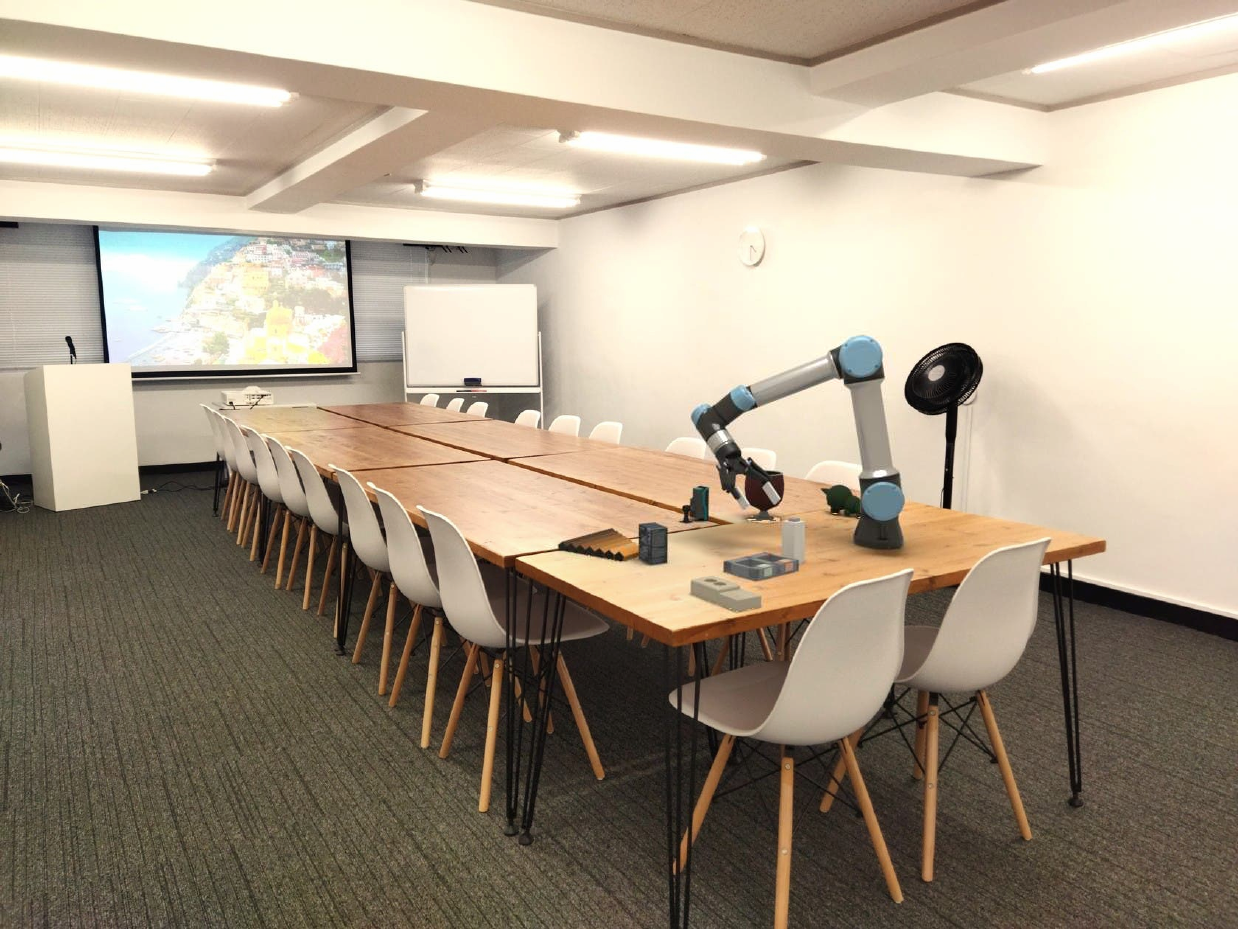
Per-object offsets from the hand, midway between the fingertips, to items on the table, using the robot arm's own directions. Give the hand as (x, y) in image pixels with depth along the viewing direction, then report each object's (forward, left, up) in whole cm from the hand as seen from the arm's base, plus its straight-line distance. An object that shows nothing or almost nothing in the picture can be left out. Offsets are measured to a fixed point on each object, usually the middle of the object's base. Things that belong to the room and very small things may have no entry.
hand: (762, 504), depth 249 cm
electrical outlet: (+41, +24, -16) cm, 50 cm away
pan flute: (+26, -35, -16) cm, 47 cm away
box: (+29, -15, -16) cm, 36 cm away
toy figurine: (-72, -20, -16) cm, 77 cm away
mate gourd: (-41, -36, -16) cm, 57 cm away
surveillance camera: (-21, -50, -16) cm, 57 cm away
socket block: (+13, +12, -15) cm, 23 cm away
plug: (-1, +11, -15) cm, 19 cm away
